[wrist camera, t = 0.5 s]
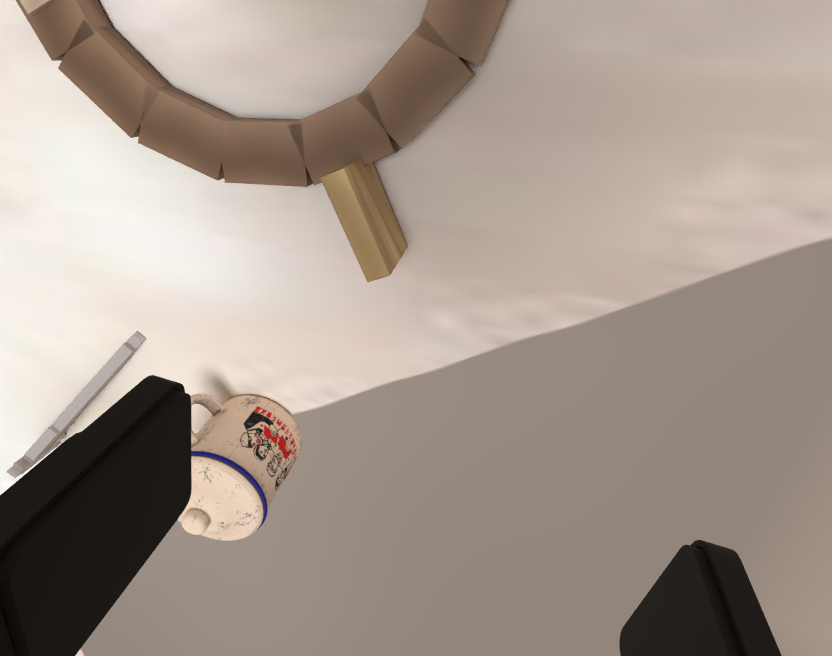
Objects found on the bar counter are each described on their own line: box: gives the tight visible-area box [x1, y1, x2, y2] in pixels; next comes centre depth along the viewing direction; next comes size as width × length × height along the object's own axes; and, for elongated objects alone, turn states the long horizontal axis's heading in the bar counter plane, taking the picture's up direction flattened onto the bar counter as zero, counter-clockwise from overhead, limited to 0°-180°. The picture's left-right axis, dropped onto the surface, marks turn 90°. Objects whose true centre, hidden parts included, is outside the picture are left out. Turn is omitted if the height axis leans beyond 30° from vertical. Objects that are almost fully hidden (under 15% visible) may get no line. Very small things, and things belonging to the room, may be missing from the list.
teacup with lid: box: [177, 394, 302, 541], centre depth 44 cm, size 12×9×12 cm
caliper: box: [7, 331, 146, 478], centre depth 48 cm, size 20×1×6 cm, turn 135°
